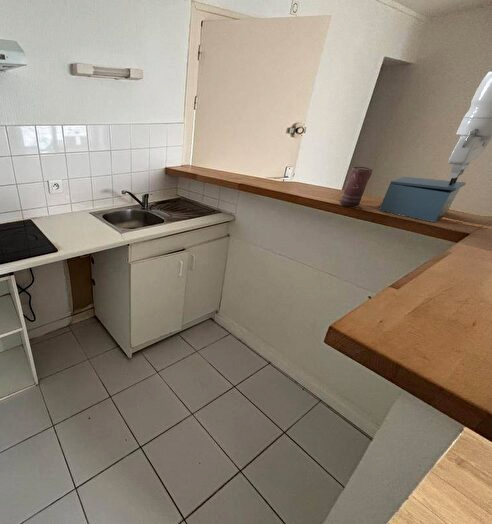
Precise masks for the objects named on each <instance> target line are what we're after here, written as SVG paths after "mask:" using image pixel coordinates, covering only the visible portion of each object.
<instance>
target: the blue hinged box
mask: <svg viewBox="0 0 492 524" xmlns="http://www.w3.org/2000/svg"><path fill="white" fill-rule="evenodd" d="M460 189H461V188H459V189H457V190H455V191H453V190H444V189H435V188H426V187H417V186H408V185H399V184H390V183H389V185H388V188H387V190H386V193H385V194H384V197H383V199H382V202H381V204H380V207H379V209H378V211H379V210H381V211H380V212H384V211H386V212H385V213H388V212H391V213H390V214H393V213H395V214H394V215H397V214H400V215H399V216H402V215H404V216H403V217H406V216H409V217H408V218H411V217H413V218H412V219H415V218H418V219H417V220H420V219H422V220H421V221H425V220H427V221H426V222H429V221H431V222H430V223H434V222H435V223H437V221H439V220H440V219H442V218H443V217H444V215H445V214H446V213H448V211H449V209H450V208H451V206H452V204H453V202H454V200H455V198H456V196H457V195H458V192H459V191H460Z"/></svg>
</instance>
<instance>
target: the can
mask: <svg viewBox="0 0 492 524" xmlns="http://www.w3.org/2000/svg"><path fill="white" fill-rule="evenodd" d="M372 175H373V169H372V168H370V167H365V166H354V167H352V168H351V170H350V172H349V175H348V178H347V181H346V184H345V188H344V190H343V192H342V196H341V199H340V201H339V203H340V205H341V206H343V207H347V208H357V207H358V206H360V203H361V200H362V198H363V196H364V193H365V190H366V187H367V185H368V182H369V180H370V178H371V176H372Z"/></svg>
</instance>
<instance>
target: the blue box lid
mask: <svg viewBox="0 0 492 524" xmlns="http://www.w3.org/2000/svg"><path fill="white" fill-rule="evenodd" d="M463 174H464V173H463V170H461V171H460V173H459V175H458V177H456V178H450V180H444V179H434V178H422V177H413V176H402V177H399V178H396V179H393V180H390V183H389V185H390V184H399V185H408V186H417V187H426V188H435V189H444V190H453V191H455V190H457V189H459V188H460V189H461V188H462V187H465V186H466V184H467V182H465V181H458V178H459V177H460V176H462V175H463ZM460 189H459V190H460Z"/></svg>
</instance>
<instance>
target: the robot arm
mask: <svg viewBox="0 0 492 524" xmlns="http://www.w3.org/2000/svg"><path fill="white" fill-rule="evenodd" d="M457 128H458V129H457V131H456V132H455V135H456V136H459V139H458V140H457V141H458V142H457V143H456V145H455V146H454V148H453V150H452V152H451V155H450V156H449V158H448V161H447V163H448V165H452V166H451V170H450V173H449V175H448V178H449V179H451V178H456V177H458V178H459V176H458V175H459V173H460V171H461V170H463V174H464V173H465V171H466V169H467V168H468V166H469V165H470V163H471V162H472V161H475V160H476V159H479V158H480V156H481V155H482V154H483V152H484V151H485V149H486V148H487V146H488V145H489V143H490V142H491V140H492V69H491V70H489V71H488V72H487V73H486V74H485V76H484V77H483V79H482V80H481V82H480V84H479V85H478V87H477V88H476V90H475V93H474V95H473V97H472V99H471V100H470V107H469V109H468V111H467V112H466V113H465V114H464V116H463V118H462V120H461V122H460V125H459V126H458V127H457Z"/></svg>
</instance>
